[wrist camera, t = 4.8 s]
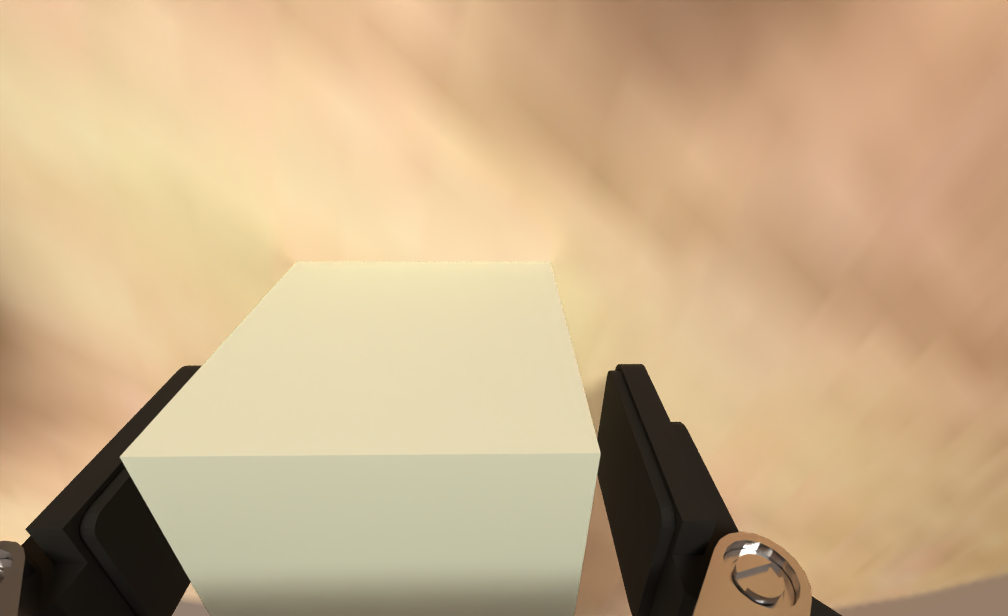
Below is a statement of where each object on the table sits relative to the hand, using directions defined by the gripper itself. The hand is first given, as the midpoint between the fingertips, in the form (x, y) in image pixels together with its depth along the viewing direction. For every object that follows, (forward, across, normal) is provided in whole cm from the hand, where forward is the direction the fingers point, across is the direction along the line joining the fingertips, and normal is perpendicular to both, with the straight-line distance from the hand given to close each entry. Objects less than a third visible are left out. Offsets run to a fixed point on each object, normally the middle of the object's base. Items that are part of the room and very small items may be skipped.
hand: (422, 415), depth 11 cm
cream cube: (+2, 0, 0) cm, 2 cm away
